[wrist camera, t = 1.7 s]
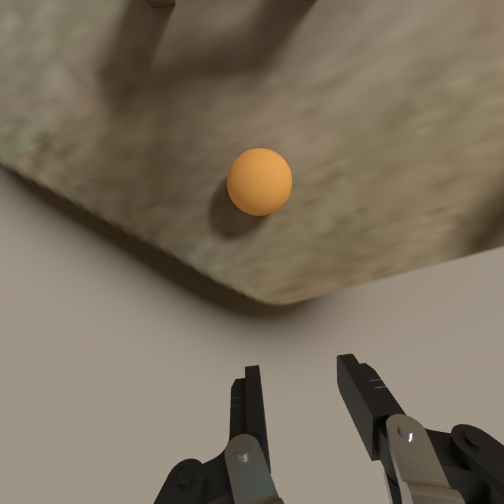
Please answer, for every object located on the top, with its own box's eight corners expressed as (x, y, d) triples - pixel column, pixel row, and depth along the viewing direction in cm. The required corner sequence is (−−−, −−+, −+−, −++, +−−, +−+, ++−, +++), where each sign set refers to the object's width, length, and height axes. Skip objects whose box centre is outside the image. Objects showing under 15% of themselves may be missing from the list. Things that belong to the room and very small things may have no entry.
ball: (224, 154, 26) (220, 149, 21) (283, 148, 26) (296, 140, 21) (232, 214, 28) (230, 224, 22) (288, 207, 28) (300, 216, 22)
